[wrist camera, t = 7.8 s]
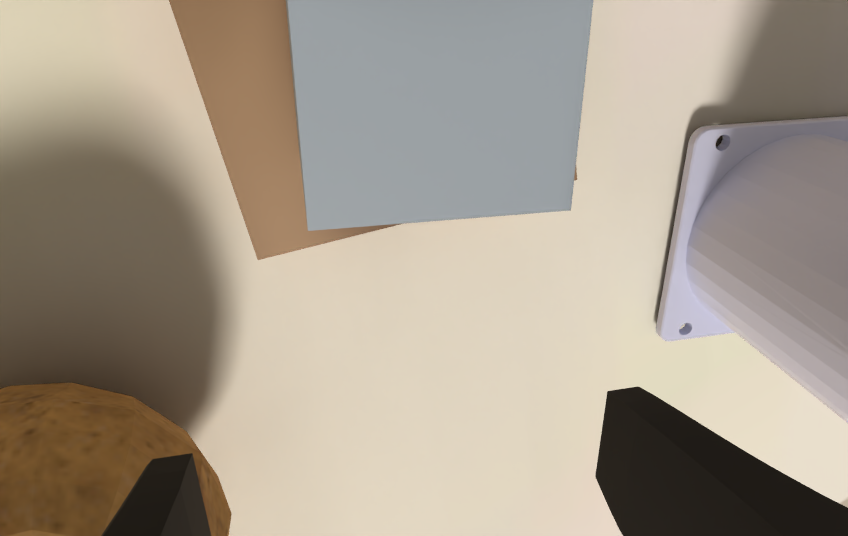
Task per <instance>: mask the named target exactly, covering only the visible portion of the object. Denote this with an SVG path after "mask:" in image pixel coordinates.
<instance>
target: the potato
mask: <svg viewBox="0 0 848 536" xmlns="http://www.w3.org/2000/svg"><path fill="white" fill-rule="evenodd" d="M190 453H193V458H194V462H195V466H196V471H197V475H198V479H199V484H200V488H201V493H202V497H203V501H204V506H205V510H206V514H207V519H208V523H209V527H210V532H211V536H228V535H229V528H230V521H231V511H230V508H229V506H228V503H227V500H226V497H225V495H224V492H223V489H222V486H221V484H220V481H219V478H218V476H217V474H216V473H215V471H214V470H213V469H212V467H211V466H210V464H209V463H208V461H207V460H206V459H205V457H204V456H203V454H202V453H201V451H200V450H199V449H198V447H197V446H196V444H195V443H194V441H193V440H192V439H191V437H190V436H189V434H188V433H187V431H185V430H184V429H182V428H181V427H179V426H177V425H176V424H174V423H173V422H171V421H170V420H168V419H167V418H165V417H164V416H162V415H161V414H159V413H158V412H156V411H154V410H153V409H151V408H150V407H148V406H147V405H145V404H144V403H142V402H141V401H139V400H138V399H136V398H134V397H133V396H128V395H124V394H120V393H115V392H111V391H106V390H102V389H98V388H93V387H89V386H85V385H80V384H76V383H53V384H34V385H15V386H8V387H5V388H1V389H0V536H101V535H102V534H103V532H104V531H105V529H106V528H107V526H108V525H109V523H110V522H111V520H112V519H113V517H114V516H115V514H116V513H117V511H118V510H119V508H120V507H121V505H122V504H123V502H124V500H125V499H126V497H127V496H128V494H129V493H130V491H131V490H132V488H133V486H134V485H135V483H136V482H137V480H138V478H139V477H140V475H141V474H142V472H143V470H144V469H145V467H146V466H147V465H148V464H149V462H150V461H151V460H152V459H156V458H163V457H170V456H176V455H183V454H190Z"/></svg>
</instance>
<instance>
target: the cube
mask: <svg viewBox="0 0 848 536" xmlns="http://www.w3.org/2000/svg"><path fill="white" fill-rule="evenodd" d="M592 7H593V0H286V10H287V21H288V32H289V43H290V54H291V66H292V77H293V88H294V99H295V110H296V121H297V132H298V143H299V155H300V164H301V173H302V182H303V191H304V200H305V209H306V218H307V227H308V231H313V230H326V229H339V228H352V227H364V226H377V225H390V224H403V223H415V222H428V221H441V220H454V219H466V218H479V217H492V216H505V215H517V214H530V213H543V212H556V211H568V210H571V204H572V194H573V185H574V175H575V166H576V157H577V147H578V138H579V129H580V119H581V110H582V101H583V91H584V82H585V73H586V63H587V54H588V45H589V35H590V26H591V17H592Z"/></svg>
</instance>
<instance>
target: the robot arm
mask: <svg viewBox="0 0 848 536" xmlns="http://www.w3.org/2000/svg"><path fill="white" fill-rule="evenodd" d="M720 136H723V140H722V142H721V144H720V145H719V146H718V147H716V145H715V143H716V141H717V139H718V138H719V137H720ZM685 323H686V324H685ZM683 324H685V326H684V327H683V328H682V329H680V327H681V326H682V325H683ZM656 332H657V334H658V335H659V336H660V337H661V338H662V339H663V340H665V341H677V340H685V339H692V338H699V337H707V336H714V335H721V334H729V333H736V334H738V335H739V336H740V337H741V338H743V339H744V340H745V341H746V342H748V343H749V344H750V345H751V346H753V347H754V348H755V349H756V350H758V351H759V352H760V353H761V354H762V355H764V356H765V357H766V358H767V359H769V360H770V361H771V362H772V363H774V364H775V365H776V366H777V367H779V368H780V369H781V370H782V371H784V372H785V373H786V374H787V375H789V376H790V377H791V378H792V379H794V380H795V381H796V382H797V383H799V384H800V385H801V386H802V387H804V388H805V389H806V390H807V391H808V392H810V393H811V394H812V395H813V396H815V397H816V398H817V399H818V400H820V401H821V402H822V403H823V404H825V405H826V406H827V407H828V408H830V409H831V410H832V411H833V412H835V413H836V414H837V415H838V416H840V417H841V418H842V419H843V420H845V421H846V422H847V423H848V116H840V117H826V118H811V119H797V120H782V121H767V122H753V123H738V124H724V125H709V126H703V127H699V128H698V129H697V130H695V131H694V132H693V134H692V135H691V137H690V139H689V142H688V148H687V154H686V160H685V165H684V171H683V177H682V182H681V188H680V194H679V200H678V205H677V211H676V217H675V222H674V228H673V234H672V240H671V245H670V251H669V257H668V262H667V268H666V274H665V280H664V285H663V291H662V297H661V302H660V308H659V314H658V319H657V325H656ZM595 477H596V479H597V481H598V483H599V486H600V488H601V490H602V493H603V495H604V497H605V500H606V502H607V504H608V506H609V508H610V511H611V513H612V515H613V517H614V519H615V521H616V523H617V525H618V527H619V529H620V531H621V533H622V534H623V536H848V508H847V507H845V506H843V505H841V504H839V503H837V502H835V501H833V500H831V499H829V498H827V497H825V496H823V495H822V494H820V493H818V492H816V491H814V490H812V489H811V488H809V487H807V486H805V485H803V484H801V483H800V482H798V481H796V480H794V479H792V478H790V477H789V476H787V475H785V474H783V473H781V472H780V471H778V470H776V469H774V468H773V467H771V466H769V465H767V464H766V463H764V462H762V461H760V460H759V459H757V458H755V457H754V456H752V455H750V454H749V453H747V452H745V451H744V450H742V449H740V448H739V447H737V446H735V445H734V444H732V443H730V442H729V441H727V440H725V439H724V438H722V437H721V436H719V435H717V434H716V433H714V432H712V431H711V430H709V429H708V428H706V427H704V426H703V425H701V424H700V423H698V422H696V421H695V420H693V419H692V418H690V417H688V416H687V415H685V414H684V413H682V412H680V411H679V410H677V409H676V408H674V407H672V406H671V405H669V404H667V403H666V402H664V401H663V400H661V399H659V398H658V397H656V396H654V395H653V394H651V393H649V392H647V391H646V390H644V389H642V388H640V387H633V388H626V389H619V390H613V391H608V392H607V399H606V406H605V413H604V420H603V427H602V434H601V441H600V448H599V455H598V462H597V469H596V476H595ZM101 536H211V532H210V527H209V523H208V519H207V514H206V510H205V506H204V501H203V497H202V493H201V488H200V484H199V479H198V475H197V471H196V466H195V462H194V458H193V453H190V454H183V455H176V456H170V457H163V458H156V459H152V460H151V461H150V462H149V464H148V465H147V466H146V467H145V469H144V470H143V472H142V474H141V475H140V477H139V478H138V480H137V482H136V483H135V485H134V486H133V488H132V490H131V491H130V493H129V494H128V496H127V497H126V499H125V500H124V502H123V504H122V505H121V507H120V508H119V510H118V511H117V513H116V514H115V516H114V517H113V519H112V520H111V522H110V523H109V525H108V526H107V528H106V529H105V531H104V532H103V534H102V535H101Z"/></svg>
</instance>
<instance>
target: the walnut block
mask: <svg viewBox="0 0 848 536" xmlns="http://www.w3.org/2000/svg"><path fill="white" fill-rule="evenodd" d="M169 2H170V5H171V8H172V11H173V13H174V16H175V19H176V22H177V25H178V28H179V31H180V34H181V37H182V40H183V43H184V46H185V48H186V51H187V54H188V57H189V60H190V63H191V66H192V69H193V72H194V75H195V78H196V81H197V84H198V86H199V89H200V92H201V95H202V98H203V101H204V104H205V107H206V110H207V113H208V116H209V119H210V121H211V124H212V127H213V130H214V133H215V136H216V139H217V142H218V145H219V148H220V151H221V154H222V156H223V159H224V162H225V165H226V168H227V171H228V174H229V177H230V180H231V183H232V186H233V189H234V192H235V194H236V197H237V200H238V203H239V206H240V209H241V212H242V215H243V218H244V221H245V224H246V227H247V229H248V232H249V235H250V238H251V241H252V244H253V247H254V250H255V253H256V256H257V259H258V260H260V259H264V258H268V257H272V256H276V255H280V254H284V253H288V252H292V251H296V250H300V249H304V248H308V247H312V246H316V245H320V244H324V243H328V242H331V241H335V240H339V239H343V238H347V237H351V236H355V235H359V234H363V233H367V232H371V231H375V230H379V229H383V228H387V227H391V226H395V225H399V224H390V225H377V226H364V227H352V228H339V229H326V230H313V231H308V227H307V218H306V209H305V200H304V191H303V182H302V173H301V164H300V155H299V143H298V132H297V121H296V110H295V99H294V88H293V77H292V66H291V54H290V43H289V32H288V21H287V10H286V0H169ZM574 180H577V173H576V166H575V175H574Z"/></svg>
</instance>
